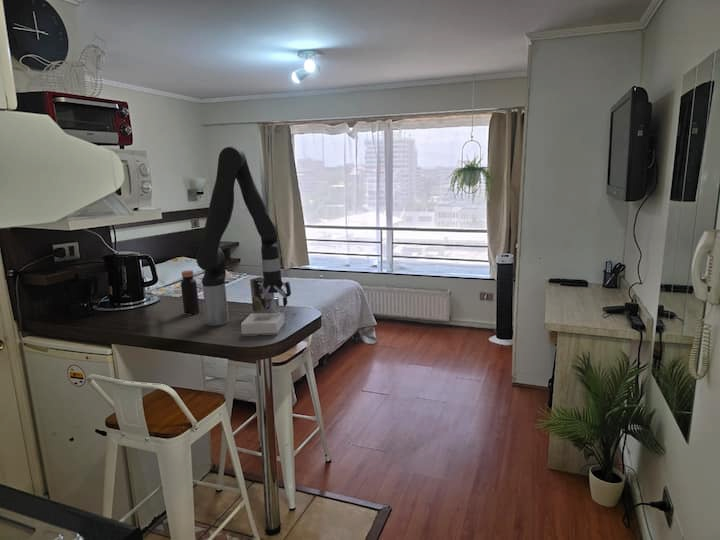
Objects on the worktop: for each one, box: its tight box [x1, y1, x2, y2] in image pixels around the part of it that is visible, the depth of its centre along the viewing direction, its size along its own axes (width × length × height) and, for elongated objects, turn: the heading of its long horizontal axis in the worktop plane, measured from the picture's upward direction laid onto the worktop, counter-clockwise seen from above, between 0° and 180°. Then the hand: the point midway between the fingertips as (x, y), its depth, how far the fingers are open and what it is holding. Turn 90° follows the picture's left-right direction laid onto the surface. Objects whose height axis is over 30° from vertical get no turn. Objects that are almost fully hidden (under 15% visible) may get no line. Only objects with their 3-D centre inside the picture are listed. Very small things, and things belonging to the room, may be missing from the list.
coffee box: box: [249, 276, 275, 313], centre depth 210 cm, size 9×6×16 cm
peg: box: [269, 296, 281, 313], centre depth 199 cm, size 4×4×10 cm
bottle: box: [180, 270, 200, 315], centre depth 215 cm, size 7×7×20 cm
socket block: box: [240, 312, 285, 337], centre depth 187 cm, size 14×14×5 cm
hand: (275, 306), depth 198 cm, fingers open, 8 cm apart
